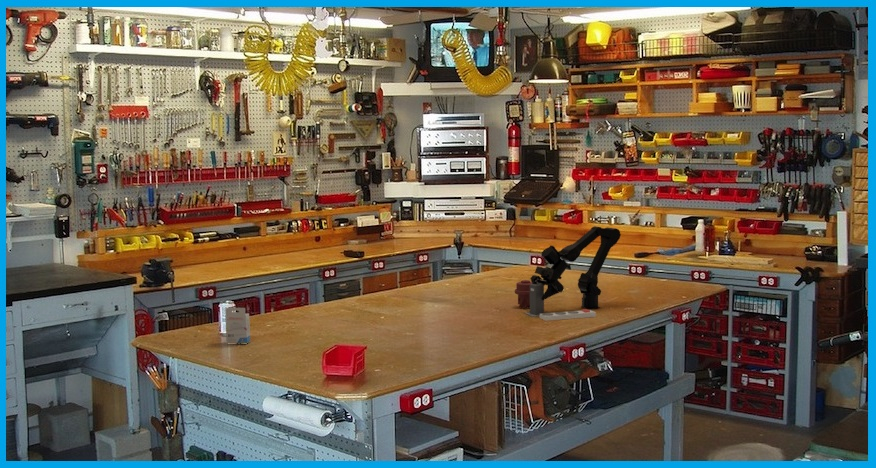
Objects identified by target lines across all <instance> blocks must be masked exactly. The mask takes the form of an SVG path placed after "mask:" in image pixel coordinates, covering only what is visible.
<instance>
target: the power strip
mask: <svg viewBox="0 0 876 468" xmlns="http://www.w3.org/2000/svg"><path fill="white" fill-rule="evenodd" d="M574 318H575V319H583V318H587V319H588V318H597V312H596V311H594V310H592V309H586V308H582V309H581V310H571V311H558V312H557V311H556V312H544V313H543V314H540V316H539V319H540V320H542V319H543V321H545V322H546V321H547V322H548V321H559V320H573V319H574Z"/></svg>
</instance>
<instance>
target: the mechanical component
mask: <svg viewBox="0 0 876 468" xmlns="http://www.w3.org/2000/svg"><path fill="white" fill-rule="evenodd" d="M530 284H532V282H531V280H530V279H529V280H527V279H523V280H521V281H517V282H516V285H515V286H516V288H515V289H514V294H516V295H517V304H518V305H519V307H520V308H523V309H524V310H525V309H530V296H529V295H530Z"/></svg>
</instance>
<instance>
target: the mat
mask: <svg viewBox="0 0 876 468" xmlns="http://www.w3.org/2000/svg"><path fill="white" fill-rule="evenodd" d="M524 314H525V315H527V316H529V317H532V318H535V317H540V315H533V314H530V311H529V312H524Z"/></svg>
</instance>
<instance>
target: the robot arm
mask: <svg viewBox="0 0 876 468" xmlns="http://www.w3.org/2000/svg"><path fill="white" fill-rule="evenodd" d="M621 235H622V234H621V231H620V229H618V228H615V227H610V226H609V227H608V226H607V227H605V228H604V227H601V226H595V225H594V226H592V227H591V228H590V229H589V230H588V231H587V232H586V233H584V235H582V236H581V237H580V238H578V239H577V240H576V241H575V242H573V243H571V244H569V245H566V246H565V247H563V248H562V249H561V250H557V248H556V247H555V246H554V245H549V246H548V247H546V248H545V249H543V250H542V251H541V255H540V256H541V257H543V259H544V260H545V261H546V262H547V263H548V264H549V265H551V267H550V266H545V267H542V266H538V265H537V266H536V268H535V271H534V274H532V275H531V277H530V278H529V280H530V282H532V284H542V285H544V286H547V288H546V290H545V291H544V295H543V296H542V298H541V299H542V300H544V301H545V300H547V299H549V298H551V297H553V296H556V295H557V294H560V293H563V292H564V288H565V286H564V285H563V284H562V283H561V282H560V281H559V280H562V275H563V274H564V272H565V271H566V270H568V271H570V270H572V267H571V262H575V261H576V260H577V259H578V258H579V257H580V255H581V253H582V251H583V250H584V249H585V248H587V247H588V246H589V245H591V243H592V242H594V240H596V239H597V238H598V237H600V245H599V247H598V248H597V251H596V253H595V255H594V257H593V259H592V261H591V264H590V265H589V268H588V270H587V271H586V272H585V273H583V272H581V273H580V275H579V276H580V277H579V278H578V279H577V282H578V283H577V287H578V289H579V291H580V294H582V297H581V308H582V309H588V310H594V309H600V308H601V307H600V306H599V296H601V293H602V290H601V289H600V288H599V287H598V283H599V278H598V277H599V274H600V272H601V269H602V268H603V265H604V263H605V261H606V259H607V257H608V255H609V253H610V250H611V249H612V248H613V247H614V246H615V245H616V244H617V243H618V242H619V240H620V238H621ZM568 262H570V263H568ZM536 274H537V275H536ZM529 296H530V295H529Z"/></svg>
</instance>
